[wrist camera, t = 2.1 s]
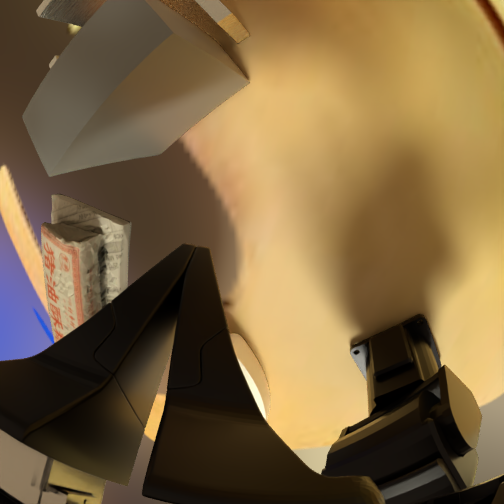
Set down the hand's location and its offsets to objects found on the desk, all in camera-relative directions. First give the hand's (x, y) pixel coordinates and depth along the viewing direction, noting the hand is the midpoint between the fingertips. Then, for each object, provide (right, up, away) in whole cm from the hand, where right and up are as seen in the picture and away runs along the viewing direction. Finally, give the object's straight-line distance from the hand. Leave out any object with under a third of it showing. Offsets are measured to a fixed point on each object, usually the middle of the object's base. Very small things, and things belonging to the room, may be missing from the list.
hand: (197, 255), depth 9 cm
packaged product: (-15, -3, +18) cm, 23 cm away
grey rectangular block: (-3, +11, +8) cm, 14 cm away
